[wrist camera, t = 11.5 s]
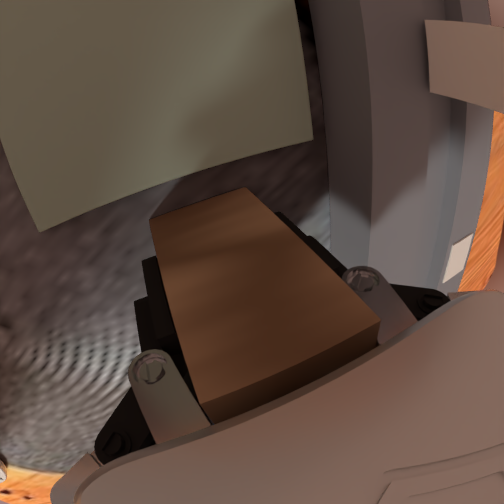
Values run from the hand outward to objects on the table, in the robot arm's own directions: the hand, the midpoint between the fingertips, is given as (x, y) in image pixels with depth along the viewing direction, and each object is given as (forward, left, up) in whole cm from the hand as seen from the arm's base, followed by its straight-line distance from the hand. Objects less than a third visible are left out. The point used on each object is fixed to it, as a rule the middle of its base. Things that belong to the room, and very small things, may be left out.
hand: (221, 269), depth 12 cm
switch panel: (+11, +2, -2) cm, 11 cm away
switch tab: (+11, +7, 0) cm, 13 cm away
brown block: (0, 0, -2) cm, 2 cm away
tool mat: (-1, +10, -2) cm, 10 cm away
